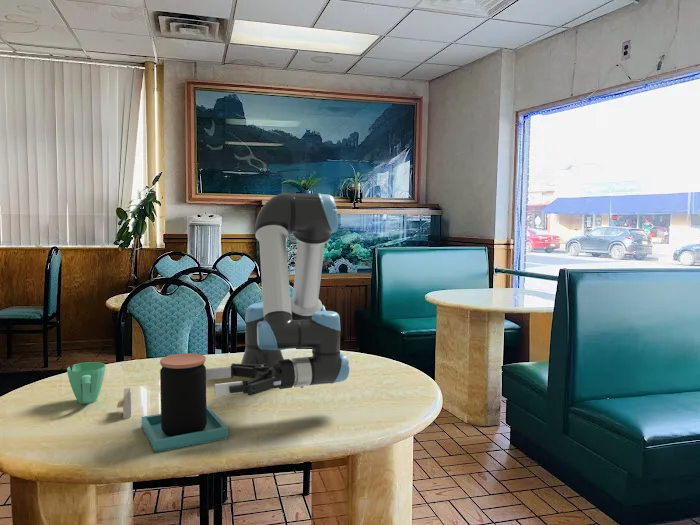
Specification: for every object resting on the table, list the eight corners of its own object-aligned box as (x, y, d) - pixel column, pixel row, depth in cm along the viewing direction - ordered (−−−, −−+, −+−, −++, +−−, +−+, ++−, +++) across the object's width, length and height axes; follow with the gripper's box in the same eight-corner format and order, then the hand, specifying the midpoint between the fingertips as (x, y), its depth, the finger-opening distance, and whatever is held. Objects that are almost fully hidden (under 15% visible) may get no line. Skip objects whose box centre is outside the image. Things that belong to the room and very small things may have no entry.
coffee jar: (215, 425, 142) (214, 355, 140) (189, 441, 131) (188, 366, 130) (179, 419, 145) (178, 351, 143) (151, 435, 135) (150, 362, 133)
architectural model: (117, 420, 147) (116, 393, 146) (119, 411, 153) (119, 385, 153) (131, 419, 148) (130, 392, 147) (133, 410, 154) (132, 384, 154)
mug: (68, 397, 162) (67, 364, 161) (105, 393, 166) (104, 360, 165) (67, 415, 149) (65, 378, 148) (107, 409, 153) (106, 374, 152)
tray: (141, 426, 142) (141, 416, 141) (208, 415, 150) (208, 405, 150) (154, 452, 127) (154, 441, 127) (228, 438, 135) (227, 427, 135)
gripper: (307, 402, 137) (219, 413, 129) (278, 374, 160) (202, 382, 152) (307, 372, 137) (218, 381, 128) (278, 348, 159) (202, 354, 151)
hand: (209, 381), depth 140 cm, fingers open, 13 cm apart
